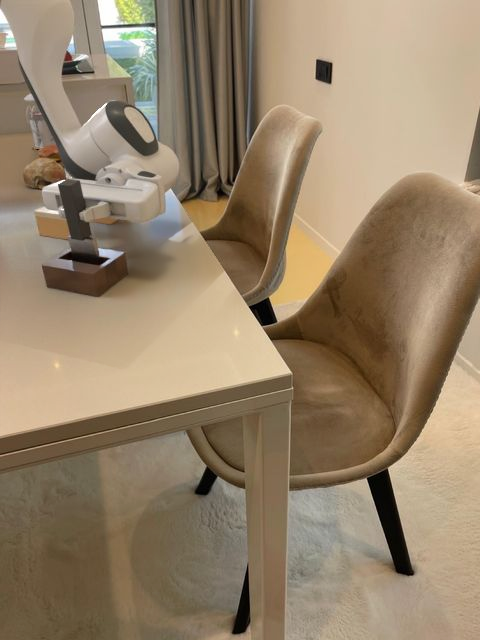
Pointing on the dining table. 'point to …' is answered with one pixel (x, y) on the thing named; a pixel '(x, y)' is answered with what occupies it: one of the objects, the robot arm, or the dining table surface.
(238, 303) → the dining table surface
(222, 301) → the dining table surface
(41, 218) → the cake slice
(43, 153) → the burger
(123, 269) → the knife block
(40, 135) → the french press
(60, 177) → the bread roll
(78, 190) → the cake knife
